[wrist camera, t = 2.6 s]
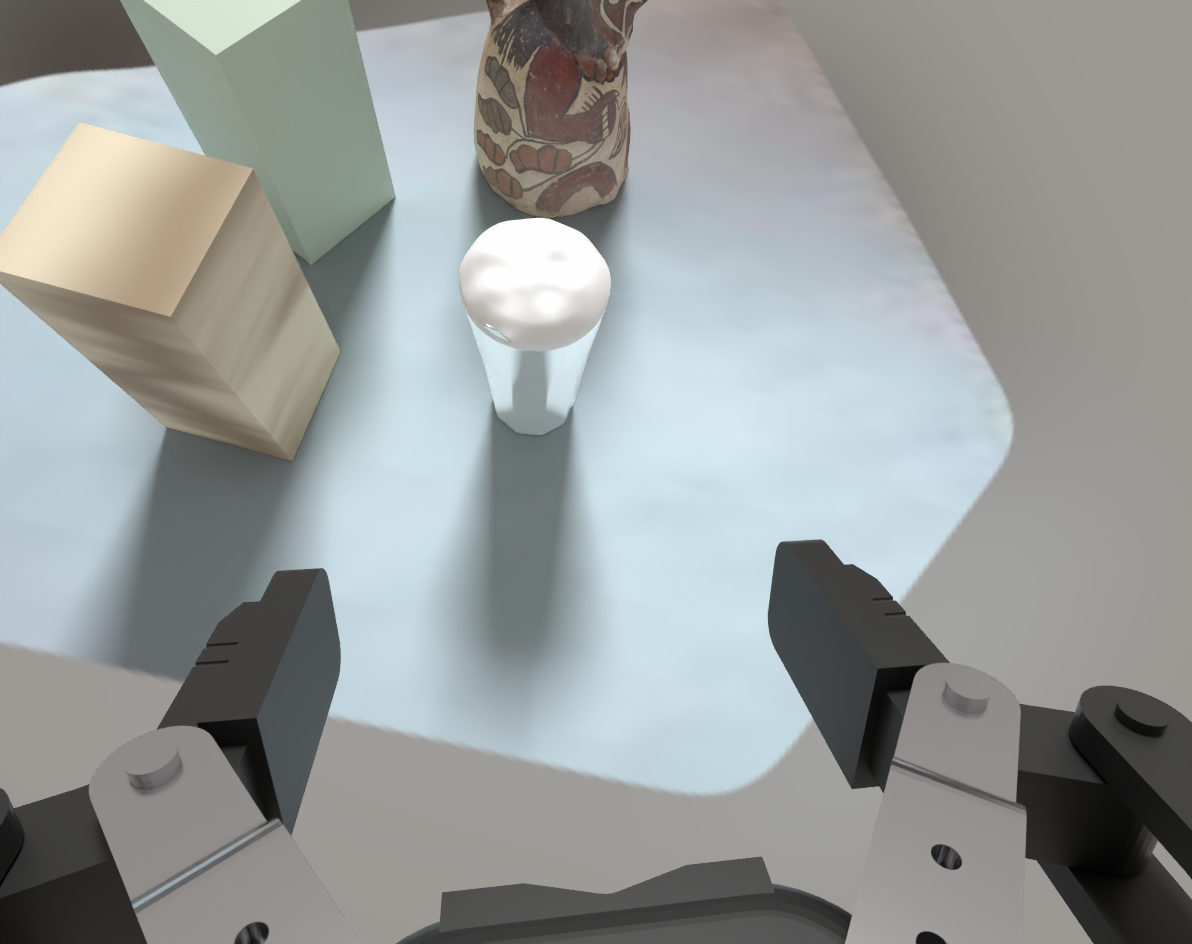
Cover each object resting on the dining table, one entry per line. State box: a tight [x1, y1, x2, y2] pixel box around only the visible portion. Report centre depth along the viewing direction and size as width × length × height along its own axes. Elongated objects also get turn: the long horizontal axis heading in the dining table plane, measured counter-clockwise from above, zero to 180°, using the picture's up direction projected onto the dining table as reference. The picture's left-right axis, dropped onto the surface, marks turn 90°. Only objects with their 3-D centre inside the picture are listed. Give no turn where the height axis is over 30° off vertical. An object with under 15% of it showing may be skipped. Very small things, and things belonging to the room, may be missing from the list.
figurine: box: [474, 0, 647, 219], centre depth 28 cm, size 7×7×12 cm
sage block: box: [120, 0, 395, 265], centre depth 27 cm, size 5×5×10 cm
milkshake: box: [459, 218, 611, 435], centre depth 24 cm, size 5×5×10 cm
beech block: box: [0, 122, 341, 461], centre depth 24 cm, size 5×5×10 cm
